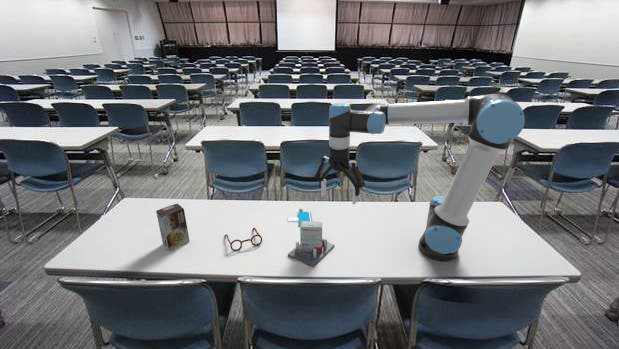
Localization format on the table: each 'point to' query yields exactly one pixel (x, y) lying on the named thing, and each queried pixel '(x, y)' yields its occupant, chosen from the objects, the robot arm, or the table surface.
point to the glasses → (244, 241)
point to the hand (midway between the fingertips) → (338, 199)
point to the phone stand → (301, 217)
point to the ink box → (311, 236)
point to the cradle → (310, 254)
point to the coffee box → (173, 226)
